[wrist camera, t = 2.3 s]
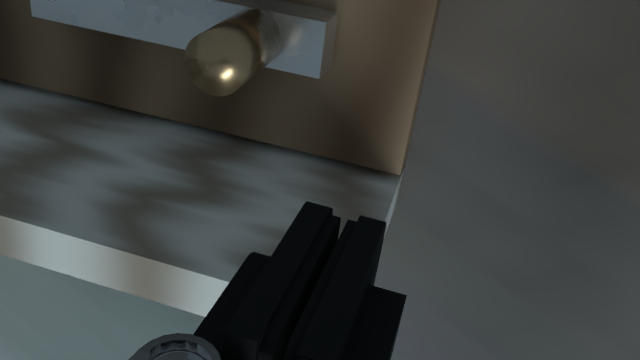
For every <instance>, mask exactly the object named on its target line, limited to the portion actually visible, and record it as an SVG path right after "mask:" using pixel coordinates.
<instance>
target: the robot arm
mask: <svg viewBox="0 0 640 360" xmlns="http://www.w3.org/2000/svg"><path fill="white" fill-rule="evenodd" d="M340 223H341V218H340V217H338V216H334V215H333V208H331V207H328V206H324V205H320V204H316V203H312V202H309V201H306V202H305V203H304V205H303V206H302V208H301V210H300V211H299V213H298V214H297V216H296V217H295V219H294V221H293V222H292V224H291V225H290V227H289V228H288V230H287V232H286V233H285V235H284V236H283V238H282V240H281V241H280V243H279V244H278V246H277V247H276V249H275V251H274V252H273V254H272V255H271V256H267V255H264V254H260V253H257V252H252V253H250V254H249V255H248V256H247V258H246V259H245V261H244V262H243V263H242V265H241V266H240V268H239V269H238V271H237V272H236V274H235V275H234V276H233V278H232V279H231V281H230V282H229V284H228V285H227V287H226V288H225V289H224V291H223V292H222V294H221V295H220V297H219V298H218V300H217V301H216V303H215V304H214V305H213V307H212V308H211V310H210V311H209V313H208V314H207V316H206V317H205V318H204V320H203V321H202V323H201V324H200V326H199V327H198V329H197V330H196V331H195V333H194V334H193V335H192V334H180V333H176V334H169V335H163V336H161V337H158V338H156V339H153V340H151V341H149V342H148V343H147V344H145V345H144V346H143V347H141V348H140V349H139V350H138V351H137V352H136V353H135V354H134V355H133V356H132V357H131V358H130V359H129V360H390V359H391V356H392V352H393V348H394V344H395V340H396V336H397V332H398V328H399V324H400V320H401V316H402V312H403V308H404V304H405V300H406V296H407V295H403V294H400V293H396V292H393V291H389V290H386V289H382V288H379V287H375V286H374V282H375V277H376V272H377V268H378V263H379V258H380V253H381V249H382V244H383V239H384V234H385V229H386V222H384V221H381V220H377V219H373V218H369V217H365V216H362V215H360V216H359V218H358V220H357V221H353V220H349V219H348V220H347V222H346V224H345V226H344V228H343V230H342V232H341V235H340V237H339V239H338V236H339V229H340Z"/></svg>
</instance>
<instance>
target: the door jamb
mask: <svg viewBox="0 0 640 360" xmlns="http://www.w3.org/2000/svg"><path fill="white" fill-rule="evenodd" d="M281 1H286V2H291V3H297V4H302V5H307V6H312V7H317V8H322V9H327V10H333V11H338V12H339V14H338V22H337V29H336V37H335V44H334V52H333V59H332V65H331V66H330V67H329V69H328V70H327V71H326V72H325V73H324V74H323V75H322V76H321V78H320V79H318V78H313V77H308V76H304V75H299V74H295V73H290V72H285V71H281V70H276V69H272V68H267V67H264V68H263V69H261V70H260V71H259V72H258V73H257V74H255V75H254V76H253V77H252V78H251V79H249V80H248V81H247V82H246V83H244V84H243V85H242V86H241V87H240V88H238V89H237V90H236V91H235V92H233V93H232V94H229V95H226V96H213V95H209V94H207V93H205V92H203V91H202V90H200V89H199V88H198V87H197V86H196V85H195V84H194V83H193V82H192V80H191V79H190V77H189V76H188V74H187V71H186V68H185V63H184V54H185V50H184V49H180V48H175V47H171V46H166V45H161V44H157V43H152V42H148V41H143V40H138V39H134V38H129V37H125V36H120V35H115V34H111V33H106V32H102V31H97V30H92V29H88V28H83V27H79V26H74V25H70V24H65V23H60V22H56V21H51V20H47V19H42V18H37V17H33V16H32V12H31V4H30V0H0V254H1V255H4V256H8V257H11V258H14V259H18V260H21V261H24V262H27V263H31V264H34V265H37V266H40V267H44V268H47V269H50V270H54V271H57V272H60V273H63V274H67V275H70V276H73V277H76V278H80V279H83V280H86V281H90V282H93V283H96V284H99V285H103V286H106V287H109V288H112V289H116V290H119V291H122V292H126V293H129V294H132V295H135V296H139V297H142V298H145V299H148V300H152V301H155V302H158V303H162V304H165V305H168V306H171V307H175V308H178V309H181V310H184V311H188V312H191V313H194V314H198V315H201V316H204V317H206V316H207V314H208V313H209V311H210V310H211V308H212V307H213V305H214V304H215V303H216V301H217V300H218V298H219V297H220V295H221V294H222V292H223V291H224V289H225V288H226V287H227V285H228V284H229V282H230V281H231V279H232V278H233V276H234V275H235V274H236V272H237V271H238V269H239V268H240V266H241V265H242V263H243V262H244V261H245V259H246V258H247V256H248V255H249V254H250V253H252V252H257V253H260V254H264V255H267V256H271V255H272V254H273V252H274V251H275V249H276V247H277V246H278V244H279V243H280V241H281V240H282V238H283V236H284V235H285V233H286V232H287V230H288V228H289V227H290V225H291V224H292V222H293V221H294V219H295V217H296V216H297V214H298V213H299V211H300V210H301V208H302V206H303V205H304V203H305V202H306V201H309V202H312V203H316V204H320V205H324V206H328V207H331V208H333V215H334V216H338V217H340V218H341V223H340V229H339V236H338V239H339V237H340V235H341V232H342V230H343V228H344V226H345V224H346V222H347V220H348V219H349V220H353V221H357V220H358V218H359V216H360V215H362V216H365V217H369V218H373V219H377V220H381V221H384V222H386V229H385V234H386V231H387V228H388V225H389V222H390V219H391V217H392V214H393V211H394V208H395V205H396V202H397V199H398V195H399V191H400V186H401V181H402V177H403V172H404V167H405V166H404V163H405V161H406V158H407V154H408V149H409V144H410V140H411V135H412V131H413V126H414V121H415V117H416V112H417V107H418V103H419V98H420V94H421V89H422V84H423V80H424V75H425V70H426V66H427V61H428V57H429V52H430V47H431V43H432V38H433V33H434V29H435V24H436V20H437V15H438V10H439V6H440V1H441V0H281ZM385 234H384V237H385Z"/></svg>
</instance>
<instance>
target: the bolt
mask: <svg viewBox="0 0 640 360" xmlns="http://www.w3.org/2000/svg"><path fill="white" fill-rule="evenodd" d="M30 4H31V12H32V16H33V17H37V18H42V19H47V20H51V21H56V22H60V23H65V24H70V25H74V26H79V27H83V28H88V29H92V30H97V31H102V32H106V33H111V34H115V35H120V36H125V37H129V38H134V39H138V40H143V41H148V42H152V43H157V44H161V45H166V46H171V47H175V48H180V49H184V50H185V54H184V63H185V68H186V71H187V74H188V76H189V77H190V79H191V80H192V82H193V83H194V84H195V85H196V86H197V87H198V88H199V89H200V90H202V91H203V92H205V93H207V94H209V95H213V96H226V95H229V94H232V93H233V92H235V91H236V90H237V89H238V88H240V87H241V86H242V85H243V84H244V83H246V82H247V81H248V80H249V79H251V78H252V77H253V76H254V75H255V74H257V73H258V72H259V71H260V70H261V69H263V68H264V67H267V68H272V69H276V70H281V71H285V72H290V73H295V74H299V75H304V76H308V77H313V78H318V79H320V78H321V76H322V75H323V74H324V73H325V72H326V71H327V70H328V69H329V67H330V66H331V65H332V59H333V52H334V44H335V37H336V29H337V22H338V14H339V12H338V11H333V10H327V9H322V8H317V7H312V6H307V5H302V4H297V3H291V2H286V1H281V0H30Z"/></svg>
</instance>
